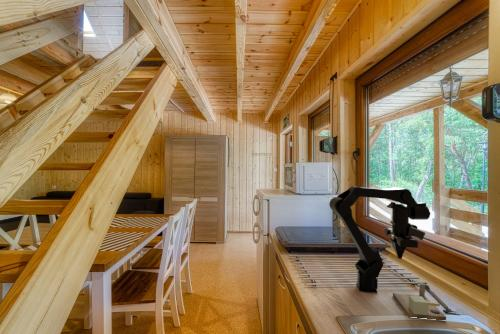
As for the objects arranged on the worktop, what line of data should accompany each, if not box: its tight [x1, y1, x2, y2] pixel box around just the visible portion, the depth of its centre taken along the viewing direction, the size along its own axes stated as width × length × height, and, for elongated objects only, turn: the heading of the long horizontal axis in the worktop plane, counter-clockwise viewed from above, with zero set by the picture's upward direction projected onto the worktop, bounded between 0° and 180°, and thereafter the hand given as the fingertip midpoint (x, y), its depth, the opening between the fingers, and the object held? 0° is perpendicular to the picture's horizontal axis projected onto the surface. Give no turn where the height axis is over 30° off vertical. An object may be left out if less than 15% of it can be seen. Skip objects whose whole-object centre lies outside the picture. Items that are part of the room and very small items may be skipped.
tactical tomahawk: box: [424, 283, 460, 316], centre depth 96 cm, size 21×7×1 cm, turn 166°
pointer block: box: [409, 294, 441, 315], centre depth 85 cm, size 8×4×4 cm, turn 80°
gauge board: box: [392, 282, 447, 321], centre depth 90 cm, size 11×14×6 cm
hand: (399, 258), depth 104 cm, fingers closed
